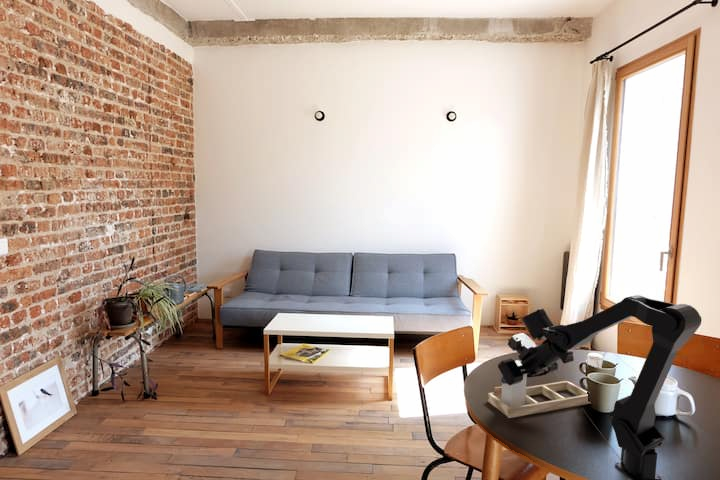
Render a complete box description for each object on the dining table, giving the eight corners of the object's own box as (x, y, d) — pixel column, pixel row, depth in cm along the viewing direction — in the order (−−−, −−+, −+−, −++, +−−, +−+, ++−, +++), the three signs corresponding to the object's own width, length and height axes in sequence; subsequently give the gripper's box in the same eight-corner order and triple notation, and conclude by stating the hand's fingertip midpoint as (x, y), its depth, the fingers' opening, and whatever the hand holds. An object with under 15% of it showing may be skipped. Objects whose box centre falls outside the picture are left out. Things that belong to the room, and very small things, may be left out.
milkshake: (606, 384, 144) (608, 354, 142) (588, 382, 145) (590, 353, 144) (601, 378, 148) (603, 349, 147) (584, 377, 149) (585, 348, 148)
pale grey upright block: (525, 406, 129) (527, 364, 127) (510, 411, 126) (512, 368, 124) (515, 401, 132) (517, 360, 130) (500, 406, 128) (502, 364, 127)
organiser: (592, 403, 131) (593, 389, 131) (509, 418, 122) (509, 404, 122) (566, 388, 141) (567, 376, 140) (487, 401, 132) (488, 388, 131)
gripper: (551, 322, 127) (517, 348, 138) (504, 332, 118) (472, 359, 128) (574, 358, 121) (538, 382, 132) (528, 372, 112) (492, 396, 123)
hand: (510, 379), depth 129 cm, fingers open, 7 cm apart
